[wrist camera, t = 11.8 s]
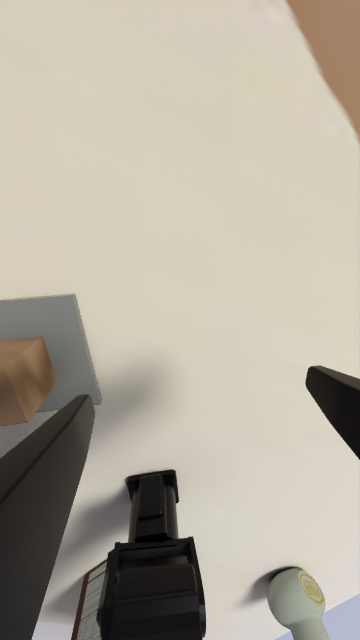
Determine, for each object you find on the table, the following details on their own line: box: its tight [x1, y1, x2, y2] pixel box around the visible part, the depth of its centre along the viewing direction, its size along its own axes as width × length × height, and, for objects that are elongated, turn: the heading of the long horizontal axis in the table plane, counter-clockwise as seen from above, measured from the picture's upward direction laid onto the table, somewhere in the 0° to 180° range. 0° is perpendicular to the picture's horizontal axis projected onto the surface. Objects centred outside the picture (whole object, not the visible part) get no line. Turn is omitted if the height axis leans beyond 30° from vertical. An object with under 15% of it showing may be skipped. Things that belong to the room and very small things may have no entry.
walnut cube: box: [0, 336, 58, 426], centre depth 17 cm, size 5×5×5 cm
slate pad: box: [0, 294, 102, 413], centre depth 19 cm, size 12×12×1 cm
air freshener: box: [267, 568, 330, 640], centre depth 38 cm, size 11×8×10 cm
